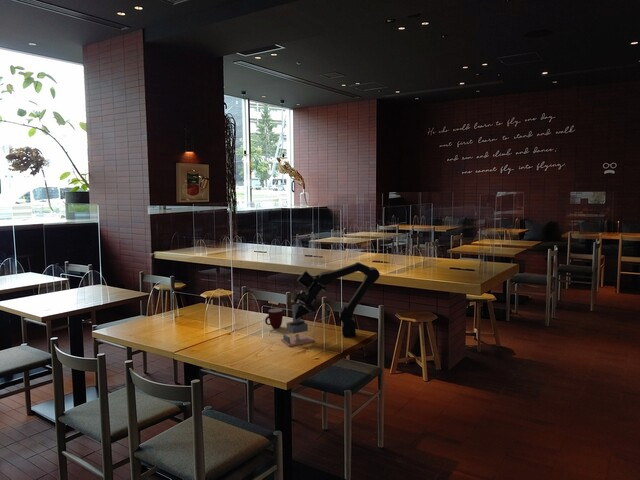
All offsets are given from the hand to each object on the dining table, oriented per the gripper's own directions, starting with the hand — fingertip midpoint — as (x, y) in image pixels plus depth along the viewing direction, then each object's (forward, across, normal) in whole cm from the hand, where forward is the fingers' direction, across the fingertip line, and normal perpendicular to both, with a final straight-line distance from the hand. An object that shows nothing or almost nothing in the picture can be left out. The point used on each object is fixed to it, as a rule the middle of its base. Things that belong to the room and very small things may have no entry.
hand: (294, 317), depth 243 cm
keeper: (+8, 0, +10) cm, 13 cm away
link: (+4, 0, +6) cm, 7 cm away
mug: (+10, -26, +8) cm, 29 cm away
